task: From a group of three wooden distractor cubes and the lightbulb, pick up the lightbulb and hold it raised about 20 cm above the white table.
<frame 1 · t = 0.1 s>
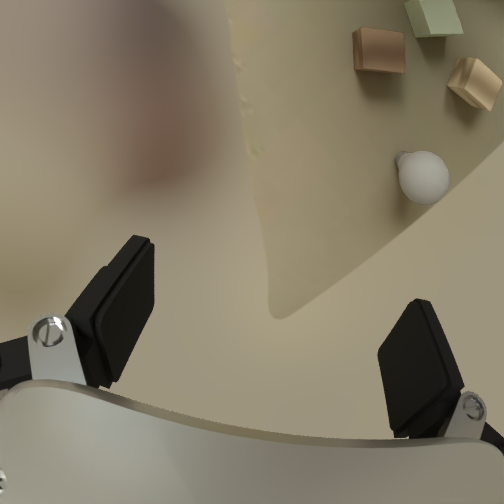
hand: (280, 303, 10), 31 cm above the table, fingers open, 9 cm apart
sage cube: (425, 20, 25), on the table
beech cube: (465, 81, 28), on the table
walnut cube: (372, 53, 29), on the table
lightbulb: (401, 158, 36), on the table
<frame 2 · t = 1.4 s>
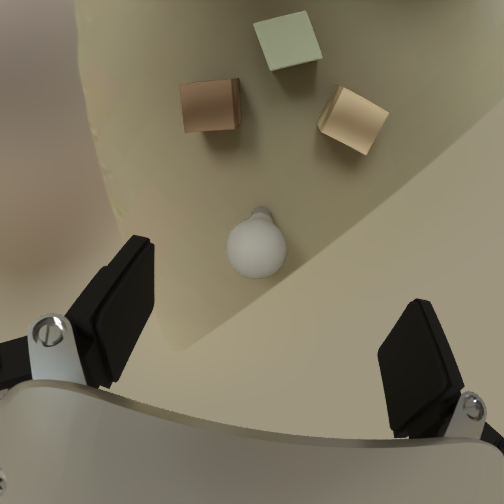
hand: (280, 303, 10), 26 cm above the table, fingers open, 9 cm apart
sage cube: (287, 44, 26), on the table
beech cube: (346, 114, 30), on the table
walnut cube: (217, 101, 31), on the table
lightbulb: (262, 213, 38), on the table
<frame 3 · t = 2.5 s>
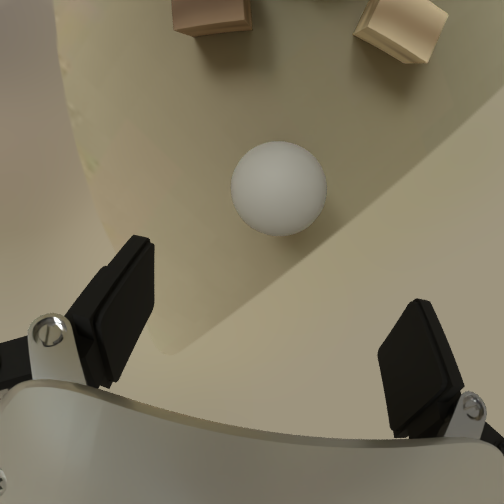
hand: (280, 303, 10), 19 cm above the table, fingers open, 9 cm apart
beech cube: (389, 26, 18), on the table
walnut cube: (220, 7, 19), on the table
lightbulb: (281, 155, 26), on the table
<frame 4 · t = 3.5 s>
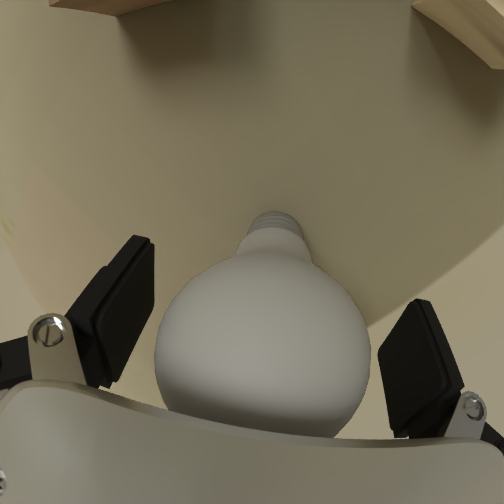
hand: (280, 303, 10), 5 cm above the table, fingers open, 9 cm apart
beech cube: (467, 2, 7), on the table
lightbulb: (276, 225, 15), on the table
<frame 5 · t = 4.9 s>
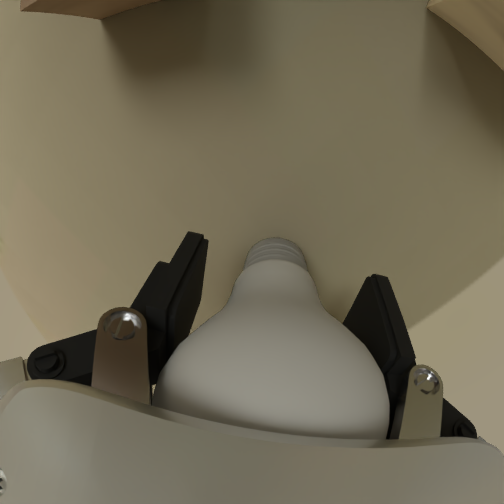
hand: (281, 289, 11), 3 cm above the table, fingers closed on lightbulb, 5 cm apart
beech cube: (485, 5, 6), on the table
lightbulb: (275, 250, 14), on the table, touching gripper
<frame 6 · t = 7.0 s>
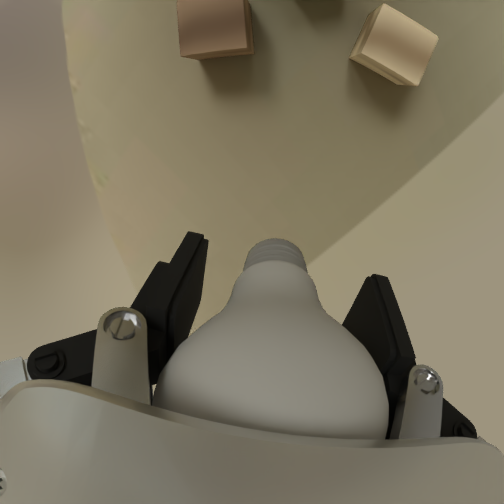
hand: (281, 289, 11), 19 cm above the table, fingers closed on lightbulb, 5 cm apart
beech cube: (383, 49, 21), on the table
walnut cube: (224, 31, 22), on the table
lightbulb: (275, 251, 14), point 16 cm above the table, touching gripper
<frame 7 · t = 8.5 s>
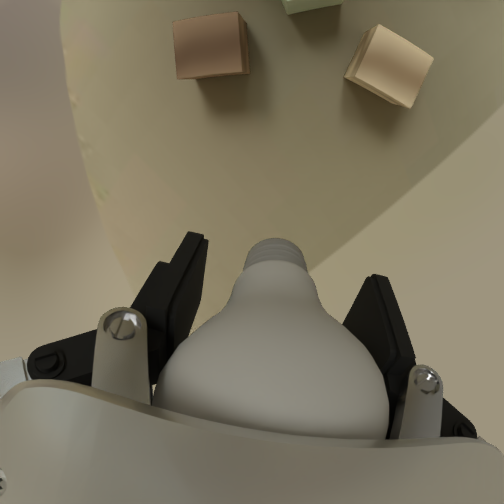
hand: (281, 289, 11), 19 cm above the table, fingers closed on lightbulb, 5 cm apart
beech cube: (378, 67, 22), on the table
walnut cube: (220, 50, 23), on the table
lightbulb: (275, 250, 14), point 16 cm above the table, touching gripper
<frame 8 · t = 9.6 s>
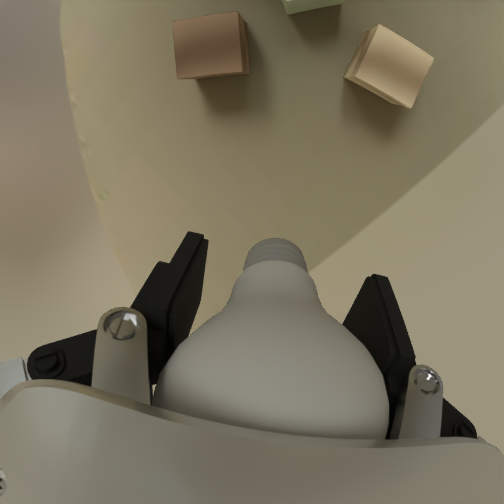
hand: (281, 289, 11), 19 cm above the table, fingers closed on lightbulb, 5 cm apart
beech cube: (378, 67, 22), on the table
walnut cube: (220, 50, 23), on the table
lightbulb: (275, 250, 14), point 16 cm above the table, touching gripper
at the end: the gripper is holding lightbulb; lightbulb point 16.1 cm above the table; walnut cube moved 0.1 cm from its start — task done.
